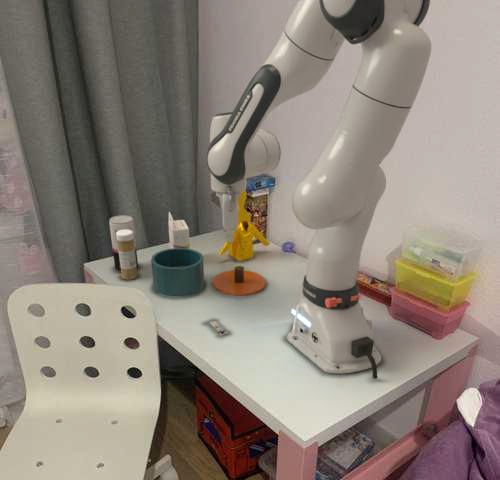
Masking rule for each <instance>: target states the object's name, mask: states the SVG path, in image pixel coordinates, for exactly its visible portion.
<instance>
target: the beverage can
mask: <svg viewBox="0 0 500 480" xmlns="http://www.w3.org/2000/svg"><path fill="white" fill-rule="evenodd" d="M108 223H109V224H108V225H109V232H110V239H111V246H112V254H113V262H114V269H115V270H116V271H118V272H119V273H121V267H120V259H119V251H118V241H117V238H116V232H117V231H119V230H131V231H133V235H134V238H133V239H134V240H133V241H134V248H135V256H136V268H137V269H138V267H139V262H138V251H137V243H136V232H135V223H134V220H133V217H132V216H131V215H123V214H122V215H115V216H112V217H110V218H109V222H108Z"/></svg>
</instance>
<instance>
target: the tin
mask: <svg viewBox="0 0 500 480" xmlns="http://www.w3.org/2000/svg"><path fill="white" fill-rule="evenodd" d="M150 261H151V272H152V285H153V290H154V292H155V293H156V294H160V295H162V296H167V297H176V298H177V297H187V296H188V297H189V296H191V295H194V294H197V293H199V292H201V291H202V290H203V288H205V266H204V263H205V262H204V256H203V253H201V252H199V251H198V250H195V249H192V248H190V249H186V248H172V249H170V248H167V249H163V250H159V251H157V252H155V253H154V254H153V255H152V256H151V260H150ZM184 265H185V267H180V268H171V267H175V266H184Z"/></svg>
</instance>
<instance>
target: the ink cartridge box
mask: <svg viewBox="0 0 500 480" xmlns="http://www.w3.org/2000/svg"><path fill="white" fill-rule="evenodd" d="M168 237H169V238H168V239H169V249H172V248H186V249H191V247H190V228H189V226H188V225H187V223H186V221H185V219H177V220H174V218H173V216H172V214H171V212H170V211H168Z"/></svg>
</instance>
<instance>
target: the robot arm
mask: <svg viewBox="0 0 500 480" xmlns="http://www.w3.org/2000/svg"><path fill="white" fill-rule="evenodd" d="M430 3H431V0H298V1H297V3H296V5H295V7H294V8H293V10H292V12H291V14H290V16H289V18H288V19H287V23H286V25H285V26H284V28H283V30H282V33H281V34H280V37H279V39H278V41H277V43H276V44H275V46H274V48H273V50H272V51H271V52H270V54H269V56H268V57H267V59H266V60H265V61H264V63H263V64H262V65H261V66H260V67H259V68H258V70H257V71H256V72H255V74H254V75H253V76H252V78H251V79H250V81H249V83H248V84H247V86H246V88H245V89H244V91H243V93H242V94H241V96H240V99H238V102H237V103H236V106H235V107H234V109H233V111H228V112H221V113H220V112H219V113H216V114H215V115H213V117H212V119H211V122H210V128H209V129H210V130H209V146H208V148H207V152H206V165H207V168H208V170H209V172H210V189H211V190H212V191H213V192H215V196H217V197H218V198H219V204H220V213H221V221H222V229H223V230H224V231H225V240H226V241H227V242H233V235H234V230H237V229H238V200H237V197H240V196H241V192H242V191H244V190H246V189H247V179H251V178H253V177H258V176H260V175H261V176H262V175H264V174H267V173H269V172H271V171H274V170H275V169H276V168H277V167H278V165H279V164H280V160H281V153H282V152H281V144H280V142H279V140H278V138H277V136H275V134H273V132H271V131H268V130H265V129H263V128H261V127H262V126H263V124H264V122H265V120H266V118H267V117H268V116H269V115H270V113H271V112H272V111H273V110H275V109H276V108H277V107H279V106H281V105H282V104H284V103H286V102H287V101H290V100H291V99H293V98H296V97H298V96H300V95H303V94H305V93H308V92H310V91H312V90H313V89H314V88H316V87H317V86H318V85H319V84H320V82H321V81H322V80H323V78H324V77H325V76H326V75H327V73H328V72H329V71H330V68H331V67H332V65H333V63H334V61H335V59H336V57H337V56H338V53H339V52H340V50H341V48H342V46H343V44H344V42H346V41H347V42H348V43H349V44H350V45H358V44H360V45H361V49H362V57H361V62H360V65H359V68H358V70H357V73H356V75H355V77H354V80H353V83H352V84H351V88H350V90H349V93H348V96H347V99H346V101H345V104H344V106H343V108H342V112H341V114H340V116H339V118H338V122H337V123H336V126H335V128H334V130H333V132H332V134H331V136H330V137H329V139H328V140H327V142H326V144H325V145H324V147H323V149H322V151H321V152H320V153H319V155H318V157H317V158H316V160H315V162H314V164H313V165H312V167H311V169H310V170H309V171H308V173H307V174H306V175H305V177H304V178H303V179H302V180H301V181H300V182H299V184H297V185H296V187H295V188H294V191H293V193H292V196H291V206H292V210H293V211H292V212H293V214H294V216H295V218H296V219H297V220H298V222H299V223H300V224H301V225H303V226H304V227H306V228H308V229H310V230H316V231H315V233H314V234H313V236H312V237H311V239H310V242H309V245H308V248H307V249H308V250H307V260H306V261H307V262H306V272H305V275H304V276H303V281H302V297H301V299H300V301H299V302H298V304H297V305H296V307H295V309H294V308H291V314H293V316H294V317H293V318H294V319H293V323H292V330H291V331H289V332H288V334H287V337H286V340H287V342H289V343H290V344H291V345H292V346H293V347H294V348H296V349H297V350H298V351H299V352H300V353H302V354H303V355H304V356H305V357H307V358H308V359H309V360H310V361H311V362H312V363H314V364H315V365H316V366H317V367H318V368H319V369H321V370H322V371H323V372H324V373H329V374H339V375H340V374H350V373H357V372H362V371H366V370H369V369H371V372H372V379H378V367H377V365H379V364H380V363H381V362H382V355H381V354H380V352H379V351H378V349H377V348H376V346H375V345H374V343H375V341H374V340H373V332H372V330H373V321H372V320H371V319H367V318H366V316H365V314H364V308H363V307H361V305H360V302H359V301H361V300H362V298H360V297H362V294H360V287H359V282H358V275H359V268H360V261H361V255H362V250H363V246H364V243H365V240H366V237H367V234H368V232H369V229H370V226H371V223H372V222H373V221H372V220H373V217H374V214H375V211H376V208H377V206H378V204H379V202H380V201H381V198H382V197H383V195H384V193H385V191H386V187H387V178H386V177H387V176H386V174H385V172H384V169H382V167H381V166H380V165H381V164H382V162H383V160H384V159H385V158H386V157H387V156H388V155H389V154H390V153H391V151H392V150H393V148H394V147H395V144H396V142H397V140H398V137H399V135H400V134H401V131H402V129H403V127H404V125H405V123H406V121H407V119H408V117H409V114H410V112H411V110H412V108H413V106H414V103H415V101H416V99H417V96H418V94H419V91H420V89H421V86H422V84H423V81H424V79H425V75H426V72H427V68H428V66H429V63H430V62H429V61H430V58H431V54H432V42H431V39H430V37H429V36H428V34H427V33H426V31H425V30H424V29H422V27H420V25H422V23H423V21H424V20H425V18H426V16H427V14H428V13H429V9H430V8H429V7H430ZM226 241H225V242H226Z"/></svg>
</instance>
